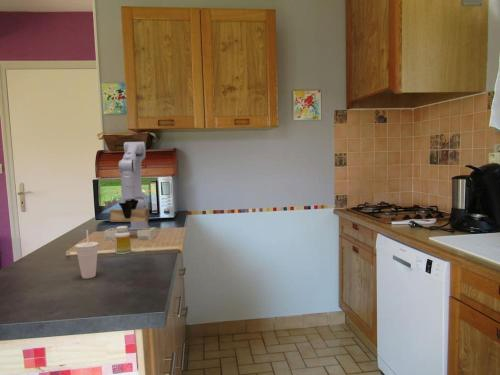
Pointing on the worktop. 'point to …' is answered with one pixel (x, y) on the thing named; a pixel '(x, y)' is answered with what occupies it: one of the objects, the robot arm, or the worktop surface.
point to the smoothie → (87, 257)
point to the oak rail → (136, 215)
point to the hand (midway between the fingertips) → (129, 217)
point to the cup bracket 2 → (146, 233)
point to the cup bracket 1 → (110, 234)
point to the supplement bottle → (122, 240)
